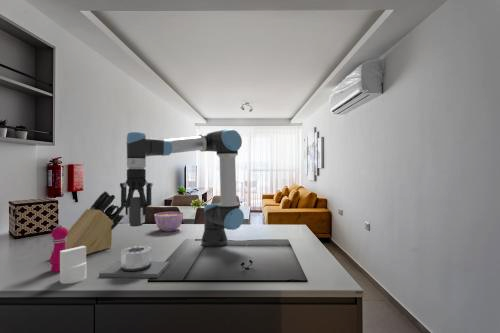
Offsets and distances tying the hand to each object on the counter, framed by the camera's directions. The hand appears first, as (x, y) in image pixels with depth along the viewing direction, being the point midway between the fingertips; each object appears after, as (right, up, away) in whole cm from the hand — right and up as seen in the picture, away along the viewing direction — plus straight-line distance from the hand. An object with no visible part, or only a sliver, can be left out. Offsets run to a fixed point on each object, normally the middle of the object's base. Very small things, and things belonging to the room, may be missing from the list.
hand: (136, 222), depth 122 cm
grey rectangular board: (0, -21, 0) cm, 21 cm away
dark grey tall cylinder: (0, -1, 0) cm, 1 cm away
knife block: (-36, -21, +29) cm, 51 cm away
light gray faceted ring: (0, -19, 0) cm, 19 cm away
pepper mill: (-34, -21, +2) cm, 40 cm away
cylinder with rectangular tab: (-21, -21, -9) cm, 31 cm away
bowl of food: (-8, -21, +78) cm, 82 cm away
